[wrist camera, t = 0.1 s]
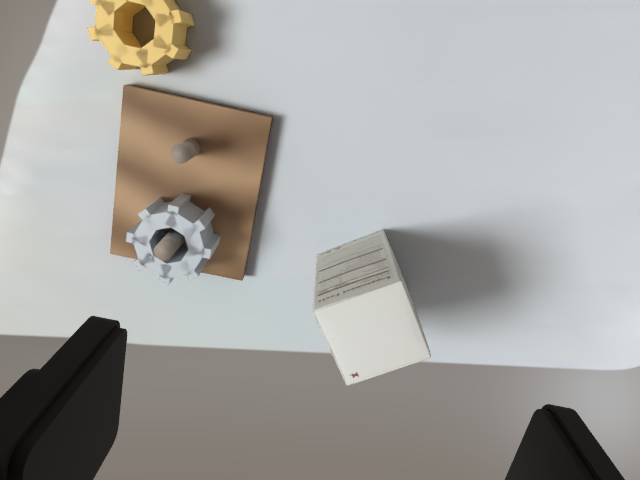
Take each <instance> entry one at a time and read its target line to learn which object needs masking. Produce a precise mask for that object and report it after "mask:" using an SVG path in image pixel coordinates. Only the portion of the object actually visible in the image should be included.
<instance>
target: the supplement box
mask: <svg viewBox="0 0 640 480" xmlns="http://www.w3.org/2000/svg"><path fill="white" fill-rule="evenodd" d="M313 314H314V316H315V318H316V321H317V323H318V325H319V327H320V329H321V331H322V333H323V335H324V338H325V340H326V342H327V344H328V346H329V349H330V351H331V354H332V355H333V357H334V359H335V361H336V363H337V365H338V368H339V370H340V372H341V374H342V376H343V379H344V381H345V383H346V385H351V384H354V383H357V382H360V381H363V380H366V379H369V378H372V377H375V376H378V375H381V374H384V373H387V372H389V371H393V370H396V369H399V368H401V367H405V366H407V365H410V364H413V363H416V362H419V361H422V360H425V359H427V358H430V357H431V354H430V351H429V347H428V344H427V341H426V338H425V335H424V332H423V329H422V327H421V324H420V321H419V318H418V315H417V313H416V310H415V307H414V304H413V302H412V299H411V296H410V294H409V291H408V288H407V286H406V283H405V281H404V278H403V275H402V273H401V270H400V268H399V265H398V263H397V260H396V258H395V256H394V253H393V251H392V249H391V246H390V244H389V241H388V239H387V236H386V234H385V231H384V230H381V231H378V232H376V233H373V234H370V235H368V236H365V237H362V238H360V239H357V240H354V241H352V242H349V243H346V244H344V245H341V246H338V247H336V248H333V249H330V250H328V251H325V252H323V253H320V254H318V255H317V256H316V273H315V286H314V299H313Z"/></svg>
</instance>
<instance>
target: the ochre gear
mask: <svg viewBox="0 0 640 480" xmlns="http://www.w3.org/2000/svg"><path fill="white" fill-rule="evenodd" d="M89 1H90V2H92V3H93V4H95V5H96V18H95V27H90V28H87V29H88V32H89V35H90V39H91V40H93V41H101V43H102V44H103V45H104V47H105V48H106V49H107V51H108V52H109V53H110V55H111V58H110V60H109V61H108V64H110V65H111V66H113V67H114V68H116V69H117V70H129V69H136V68H137V67H140V68H141V71H142V75H157V74H163V73H169V72H168V69H167V64H168V63H170V62H171V61H172V60H174V59H187V58H188V56H189V54H190V52H191V51H192V50H190V49H189V48H188V47H186V46H185V43H186V35H187V27H191V26H195V25H194V21H193V17H192V14H189V13H187V12H184V11H181V10H180V8H179V7H178V5H177V4H176V2H175V1H174V0H89ZM144 7H146V8H147V9H148V10H149V12H150V13H151V15H152V16H153V18H154V19H155V32H154V39H153V40H151V41H150V42H149V43H147V44H146V45H145V46H143V47H142V46H141V44H140V43H139V41H138V40H137V39H136V37H135V36H134V34H133V33H132V28H133V16H134V15H135V14H137V13H138V12H139V11H141V10H142V9H143V8H144Z"/></svg>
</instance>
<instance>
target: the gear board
mask: <svg viewBox="0 0 640 480" xmlns="http://www.w3.org/2000/svg"><path fill="white" fill-rule="evenodd" d="M272 119H273V117H272V116H268V115H263V114H259V113H254V112H250V111H246V110H241V109H237V108H232V107H228V106H223V105H219V104H214V103H210V102H205V101H201V100H196V99H192V98H187V97H183V96H178V95H174V94H169V93H165V92H160V91H156V90H151V89H147V88H143V87H138V86H134V85H124V87H123V100H122V112H121V125H120V137H119V150H118V162H117V174H116V187H115V199H114V212H113V224H112V237H111V249H110V254H114V255H119V256H124V257H129V258H134V259H137V258H138V256H137V253H136V250H135V247H134V244H133V243H129V242H126V237H127V232H128V231H129V230H130V229H131V228H133V227H134V226H135V225H136V224H137V223H139V222H140V221H141V220H142V219H141V218H140V217H139V215H138V214H139V213H140V212H141V211H142V210H144V209H145V208H146V207H147V206H149V205H150V204H151V203H153V202H154V201H155V200H157V199H158V198H160V197H161V198H162V199H163V201H164V202H171V201H173V200H174V199H175V198H177V197H178V196H179V195H180V194H181V193H182V194H187V195H191V199H190V202H191V203H193V204H194V205H196V206H197V207H199V208H200V209H202V210H204V211H205V210H206V209H208V208H209V207H210V209H211V210H212V211H213V213H214V214H215V216H214V218H213V219H212V220H211V225H212V228H213V232H214V234H218V235H220V241H219V245H218V246H217V248H216V250H215V251H214V253H213V254H212V256H211V258H210V259H209V260H208V261H207V263H206V264H205V266H204V268H203V269H202V271H201V272H202V273H207V274H212V275H217V276H222V277H227V278H232V279H237V280H243V278H244V274H245V269H246V263H247V258H248V252H249V247H250V241H251V235H252V230H253V224H254V219H255V213H256V208H257V202H258V197H259V191H260V186H261V180H262V175H263V169H264V164H265V158H266V152H267V147H268V141H269V136H270V130H271V125H272ZM164 232H165V237H164V238H163V239H162V240H161V241H160V242H159V243H158V244H157V245H156V246H155V248H154V254H155V256H156V257H157V258H158V259H160V260H163V261H166V260H169V259H170V258H171V257H172V256H173V255H174V253H175V252H176V251H177V250H178V248H182V247H187V244H186V240H185V237H184V235H182V234H181V233H179V232H177V231H176V230H174V229H173V228H171V227H170V228H164Z"/></svg>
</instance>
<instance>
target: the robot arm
mask: <svg viewBox="0 0 640 480" xmlns="http://www.w3.org/2000/svg"><path fill="white" fill-rule="evenodd" d="M126 342H127V330H126V329H122V328H120V323H119V321H116V320H111V319H106V318H101V317H96V316H91V317H90V318H88V319H87V321H86V322H85V323H84V324H83V325H82V326H81V327H80V328H79V329H78V330H77V331H76V332H75V333H74V334H73V335H72V336H71V337H70V338H69V340H68V341H67V342H66V343H65V344H64V345H63V346H62V347H61V348H60V349H59V350H58V351H57V352H56V353H55V354H54V355H53V356H52V358H51V359H50V360H49V361H48V362H47V363H46V364H45V365H44V366H43V367H42V368H41V369H40V370H39V369H32V370H29V371H28V372H26V373H25V374H24V375H23V376H22V377H21V378H20V379H19V380H18V381H17V382H16V383H15V384H14V385H13V386H12V387H11V388H10V389H9V390H8V391H7V392H6V393H5V394H4V395H3V396H2V397H1V398H0V480H93V479H94V477H95V475H96V473H97V472H98V470H99V468H100V466H101V465H102V463H103V461H104V459H105V457H106V456H107V454H108V452H109V450H110V449H111V447H112V445H113V443H114V441H115V438H116V435H117V431H118V425H119V415H120V404H121V394H122V383H123V373H124V362H125V351H126ZM505 480H625V479H624V478H623V477H622V475H621V474H620V472H619V471H618V470H617V468H616V467H615V465H614V464H613V463H612V461H611V460H610V458H609V457H608V456H607V454H606V453H605V452H604V450H603V449H602V447H601V446H600V444H599V443H598V442H597V440H596V439H595V437H594V436H593V435H592V433H591V432H590V430H589V429H588V428H587V426H586V425H585V423H584V422H583V421H582V419H581V418H580V416H579V415H578V414H577V412H576V411H575V410H573V409H570V408H565V407H560V406H555V405H550V404H548V405H545V406H543V407H542V409H537V410H536V411H535V412H534V414H533V416H532V418H531V421H530V423H529V425H528V427H527V430H526V432H525V434H524V437H523V439H522V442H521V444H520V446H519V448H518V450H517V453H516V455H515V457H514V460H513V462H512V464H511V467H510V469H509V471H508V473H507V476H506V478H505Z"/></svg>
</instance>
